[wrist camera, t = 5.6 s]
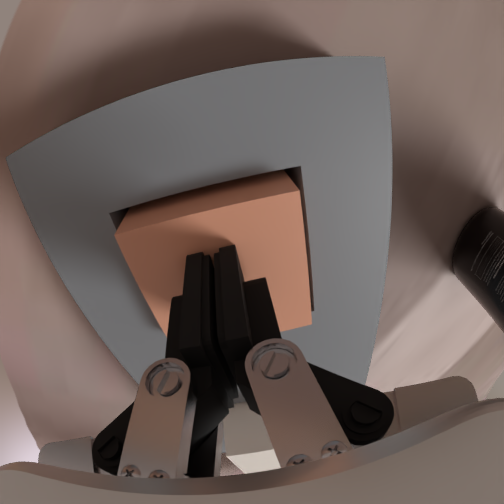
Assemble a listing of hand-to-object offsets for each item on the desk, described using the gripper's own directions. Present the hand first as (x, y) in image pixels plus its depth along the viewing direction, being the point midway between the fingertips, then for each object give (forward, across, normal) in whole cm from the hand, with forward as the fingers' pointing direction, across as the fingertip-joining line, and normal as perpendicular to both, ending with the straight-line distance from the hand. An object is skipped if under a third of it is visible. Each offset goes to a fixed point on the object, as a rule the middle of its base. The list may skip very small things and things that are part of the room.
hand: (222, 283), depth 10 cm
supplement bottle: (+5, -19, +6) cm, 21 cm away
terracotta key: (+5, 0, 0) cm, 5 cm away
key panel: (+5, 0, +7) cm, 9 cm away
